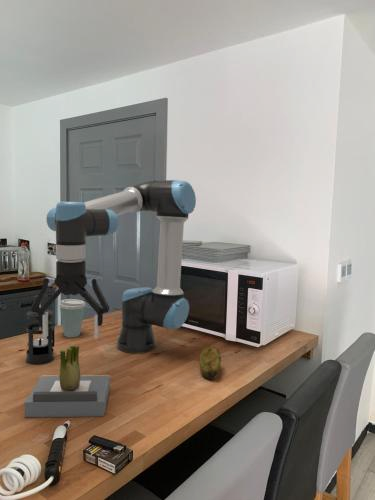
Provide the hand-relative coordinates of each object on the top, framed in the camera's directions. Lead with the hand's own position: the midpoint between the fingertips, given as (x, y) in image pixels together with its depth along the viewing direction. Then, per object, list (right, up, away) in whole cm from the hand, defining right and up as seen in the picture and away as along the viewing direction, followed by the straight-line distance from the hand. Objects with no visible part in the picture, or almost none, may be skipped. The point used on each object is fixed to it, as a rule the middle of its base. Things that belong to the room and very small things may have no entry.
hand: (71, 337), depth 108 cm
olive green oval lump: (+39, -18, +26) cm, 50 cm away
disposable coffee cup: (-16, -12, +58) cm, 62 cm away
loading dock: (-1, -19, +3) cm, 19 cm away
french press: (-20, -15, +32) cm, 40 cm away
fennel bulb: (-1, -15, +1) cm, 15 cm away
